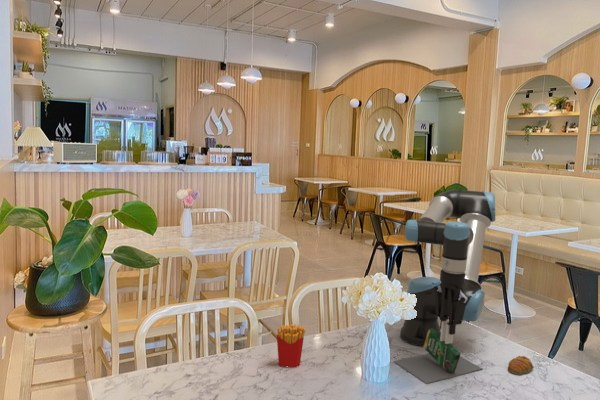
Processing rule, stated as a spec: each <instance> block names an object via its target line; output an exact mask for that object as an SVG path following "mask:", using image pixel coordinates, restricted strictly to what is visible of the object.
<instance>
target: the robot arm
mask: <svg viewBox="0 0 600 400" xmlns="http://www.w3.org/2000/svg"><path fill="white" fill-rule="evenodd" d="M447 218H456V219H459V221H448V222H446V223H445V222H444V221H445V219H447ZM493 222H496V195H495V194H494V193H493V192H490V191H484V190H482V191H480V190H479V191H478V190H465V189H450V190H446V191H443V192H441V193H439V194H436V195H435V196H434V197H432V199H431V200H430V202H429V204H428V207H427V209H425V211H424V212H423V214H422V215H421V216H420V217H419V219H408V220H407V221H406V223H405V226H404V238H405V239H406V241H408V242H414V243H423V244H430V245H439V246H442V255H441V265H440V268H441V270H440V273H439V275H440V276H439V277H438V278H437V277H434V276H422V277H421V276H420V277H415V278H412V279H410V281H409V282H408V284H407V285H408V286H407V293H406V294H408V293H410V294H415V295H416V298H417V303H416V306H415V307H414V309H415V310H416V311H417V316H416V318H414V319H411V320H405V319H404V322H403V324H402V327H401V328H400V335H399V336H400V338H401V340H402V341H404V342H405V343H408V344H411V345H415V346H418V347H419V346H420V347H424V344H425V340H426V337H427V333H428V330H429V329H433V328H434V329H436V330H437V331H438V332H439V333H440V334H441V336H440V341H445V344H449V343H451V344H452V343H454V335H455V334H456V329H457V328H456V326H457V325H462V322H463V321H465V322H466V321H467V322H476V321H478V319H480V315H481V313H482V310H483V306H484V300H485V295H486V294H485V292H486V291H484V290H483V289H482V285H481V284H480V283H479V275H480V269H481V263H482V255H483V249H484V244H485V243H484V242H485V235H486V229H487V228H489V227H490V226H491V223H493ZM439 319H440V324H439Z"/></svg>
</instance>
